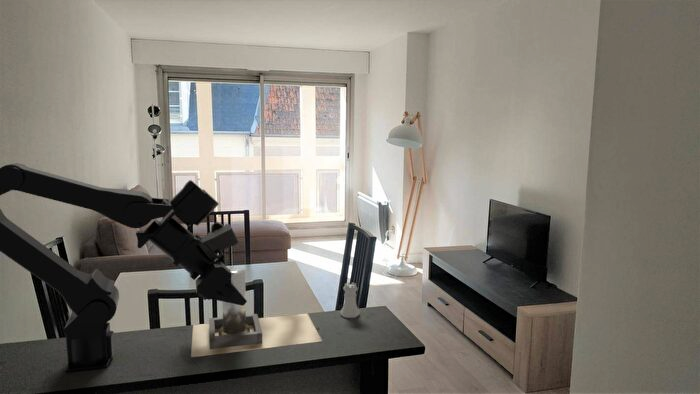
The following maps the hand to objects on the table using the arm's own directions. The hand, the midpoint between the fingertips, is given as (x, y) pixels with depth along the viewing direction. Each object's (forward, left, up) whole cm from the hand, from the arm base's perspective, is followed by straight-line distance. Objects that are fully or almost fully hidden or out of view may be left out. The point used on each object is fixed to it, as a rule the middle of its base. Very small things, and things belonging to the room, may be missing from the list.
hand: (241, 295), depth 89 cm
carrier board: (+3, 0, -9) cm, 9 cm away
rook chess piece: (+24, +4, -9) cm, 26 cm away
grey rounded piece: (-2, 0, -8) cm, 8 cm away
